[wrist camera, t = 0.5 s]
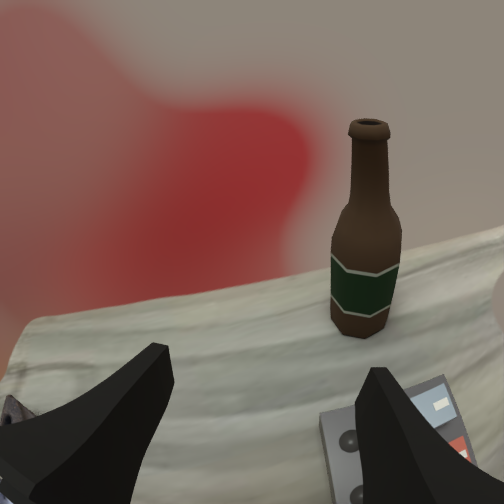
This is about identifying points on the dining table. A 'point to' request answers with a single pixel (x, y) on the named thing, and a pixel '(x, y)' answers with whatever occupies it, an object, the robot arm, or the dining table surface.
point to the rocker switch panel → (347, 451)
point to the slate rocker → (435, 406)
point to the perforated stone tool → (14, 411)
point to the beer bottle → (365, 237)
